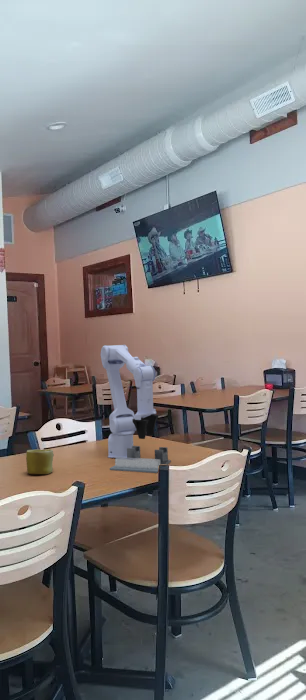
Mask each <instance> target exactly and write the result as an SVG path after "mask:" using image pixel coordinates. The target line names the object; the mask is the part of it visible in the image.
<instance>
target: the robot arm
mask: <svg viewBox="0 0 306 700" xmlns="http://www.w3.org/2000/svg"><path fill="white" fill-rule="evenodd" d="M100 350H101V351H100V358H101V359H100V360H101V364H102V368H103V369H105V370H106V376H107V381H108V385H109V390H110V395H111V400H112V404H113V411H112V412H111V413H110V414H109V417H108V419H109V424H108V426H109V429H110V432H111V433H110V434H109V436H108V438H107V445H108V446H107V448H108V449H107V451H108V455H107V458H112V459H113V458H115V459H116V458H118V457H127V448H132V446H134V434H135V432H136V433H137V437H138V440H145V439H146V437H147V436H154V432H155V428H156V425H157V424H156V423H157V421H158V418H159V414H157V411H156V410H157V409H156V408H154V386H153V384H154V383H153V382H154V381H155V380H156V370H155V367H154V366H153V365H147V364H145V363H144V362H143V361H142V360H140V358H139V356H132V354H131V353H130V352H129V347H128V346H127V345H126V344H117V345H116V344H115V345H103V346H102V347H101V349H100ZM124 365H126V366H125V368H126V370H128V371H129V373H131V374H132V375H133V379H134V382H135V385H134V386H135V387H136V396H137V398H136V401H137V403H136V405H137V408H136V409H137V412H136V413H135V411H133V410H132V409H130V408H129V407H128V405H127V402H126V396H125V391H124V386H123V382H122V377H121V372H120V369H122V368H124Z"/></svg>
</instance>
